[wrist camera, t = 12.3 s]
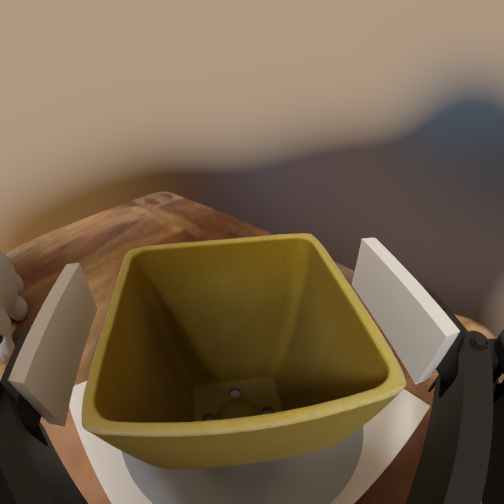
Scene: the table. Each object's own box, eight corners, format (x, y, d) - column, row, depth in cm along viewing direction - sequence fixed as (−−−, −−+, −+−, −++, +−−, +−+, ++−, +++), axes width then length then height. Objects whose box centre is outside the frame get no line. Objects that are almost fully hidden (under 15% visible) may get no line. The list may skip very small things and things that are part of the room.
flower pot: (338, 472, 11) (416, 383, 6) (165, 495, 9) (72, 427, 5) (296, 353, 18) (313, 230, 13) (164, 367, 17) (127, 246, 12)
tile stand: (73, 401, 15) (62, 387, 14) (266, 306, 25) (266, 290, 24) (198, 600, 4) (192, 606, 3) (420, 416, 14) (432, 403, 13)
